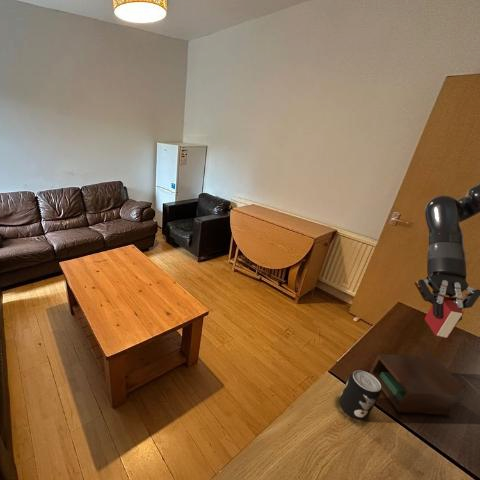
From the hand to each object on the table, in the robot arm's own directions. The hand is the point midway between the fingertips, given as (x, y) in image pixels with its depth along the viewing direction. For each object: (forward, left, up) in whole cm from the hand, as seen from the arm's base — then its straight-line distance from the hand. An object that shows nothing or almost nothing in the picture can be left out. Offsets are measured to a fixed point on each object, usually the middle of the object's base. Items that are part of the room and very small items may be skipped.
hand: (447, 319), depth 69 cm
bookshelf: (+8, +6, -22) cm, 24 cm away
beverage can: (+26, +12, -22) cm, 36 cm away
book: (-1, -2, -5) cm, 5 cm away
